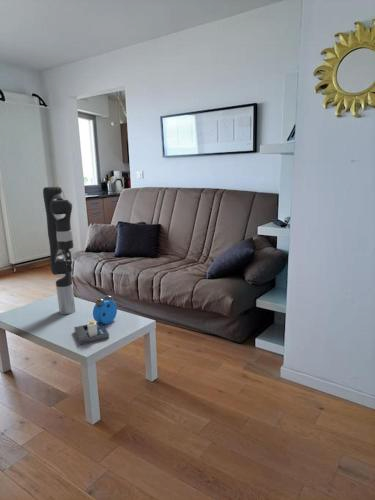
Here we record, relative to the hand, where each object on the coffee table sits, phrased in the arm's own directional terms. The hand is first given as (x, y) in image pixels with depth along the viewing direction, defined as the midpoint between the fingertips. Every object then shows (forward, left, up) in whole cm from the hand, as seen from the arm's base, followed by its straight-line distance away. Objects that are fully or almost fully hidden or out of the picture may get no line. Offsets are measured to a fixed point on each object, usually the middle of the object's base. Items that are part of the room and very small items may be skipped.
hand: (68, 269), depth 180 cm
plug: (+18, +6, -33) cm, 38 cm away
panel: (+14, +6, -33) cm, 36 cm away
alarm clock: (+1, +17, -33) cm, 37 cm away
